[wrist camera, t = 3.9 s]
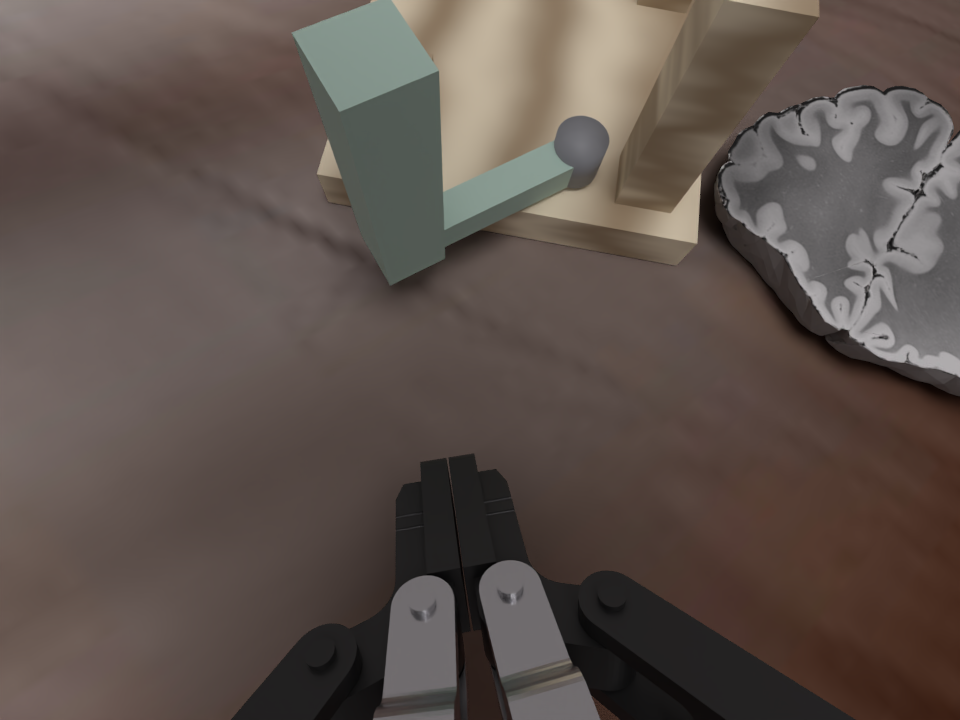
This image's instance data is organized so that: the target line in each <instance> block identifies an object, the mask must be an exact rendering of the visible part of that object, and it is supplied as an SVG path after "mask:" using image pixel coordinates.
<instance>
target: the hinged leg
mask: <svg viewBox="0 0 960 720" xmlns="http://www.w3.org/2000/svg"><path fill="white" fill-rule="evenodd" d="M292 35H293V38H294V41H295V44H296V47H297V50H298V53H299V55H300V58H301V61H302V64H303V67H304V70H305V73H306V76H307V79H308V81H309V84H310V87H311V90H312V93H313V96H314V99H315V102H316V105H317V108H318V110H319V113H320V116H321V119H322V122H323V125H324V128H325V131H326V134H327V137H328V139H329V142H330V145H331V148H332V151H333V154H334V157H335V160H336V163H337V166H338V168H339V171H340V174H341V177H342V180H343V183H344V186H345V189H346V192H347V195H348V197H349V200H350V203H351V206H352V209H353V212H354V215H355V218H356V221H357V224H358V226H359V229H360V232H361V235H362V237H363V239H364V241H365V243H366V244H367V246H368V248H369V250H370V251H371V253H372V255H373V257H374V258H375V260H376V262H377V264H378V265H379V267H380V269H381V271H382V272H383V274H384V276H385V277H386V279H387V281H388V283H389V284H390V286H391V285H393V284H395V283H397V282H399V281H401V280H403V279H405V278H407V277H409V276H411V275H413V274H415V273H417V272H419V271H421V270H423V269H425V268H427V267H429V266H431V265H433V264H435V263H437V262H439V261H441V260H443V259H445V247H446V246H448V245H450V244H452V243H454V242H456V241H458V240H460V239H462V238H464V237H467V236H469V235H471V234H473V233H475V232H477V231H479V230H481V229H483V228H485V227H487V226H489V225H491V224H493V223H495V222H497V221H499V220H501V219H503V218H505V217H507V216H509V215H511V214H514V213H516V212H518V211H520V210H522V209H524V208H526V207H528V206H530V205H532V204H534V203H536V202H538V201H540V200H542V199H544V198H546V197H548V196H550V195H552V194H554V193H556V192H558V191H561V190H563V189H565V188H582V187H585V186H587V185H588V184H590V183H591V182H592V181H593V180H594V178H595V176H596V174H597V172H598V169H599V167H600V165H601V162H602V160H603V158H604V156H605V153H606V151H607V149H608V146H609V134H608V132H607V130H606V128H605V127H604V126H603V125H602V124H601V123H600V122H599V121H597V120H596V119H594V118H591V117H588V116H573V117H570V118H568V119H566V120H565V121H563V122H562V123H561V124H560V126H559V128H558V130H557V133H556V137H555V140H554V141H552V142H549V143H547V144H545V145H543V146H541V147H539V148H537V149H534V150H532V151H530V152H528V153H526V154H524V155H522V156H519V157H517V158H515V159H513V160H511V161H509V162H507V163H504V164H502V165H500V166H498V167H496V168H494V169H492V170H489V171H487V172H485V173H483V174H481V175H479V176H477V177H474V178H472V179H470V180H468V181H466V182H464V183H461V184H459V185H457V186H455V187H453V188H451V189H449V190H446V191H444V192H443V175H442V144H441V113H440V83H439V70H438V68H437V67H436V65H435V64H434V62H433V61H432V59H431V58H430V56H429V55H428V53H427V52H426V51H425V49H424V48H423V46H422V45H421V43H420V42H419V40H418V39H417V37H416V36H415V34H414V33H413V31H412V30H411V28H410V27H409V25H408V24H407V22H406V21H405V19H404V18H403V16H402V15H401V14H400V12H399V11H398V9H397V8H396V6H395V5H394V3H393V2H392V0H377V1H375V2H372V3H369V4H367V5H364V6H361V7H359V8H356V9H353V10H351V11H348V12H345V13H343V14H340V15H337V16H335V17H332V18H329V19H327V20H324V21H321V22H319V23H316V24H313V25H311V26H308V27H305V28H303V29H300V30H297V31H295V32H292Z"/></svg>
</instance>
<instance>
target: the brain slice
mask: <svg viewBox="0 0 960 720" xmlns="http://www.w3.org/2000/svg"><path fill="white" fill-rule="evenodd" d="M953 130H954V126H953V123H952V119H951V117H950V115H949V113H948V111H947V110H946V109H945V108H944V107H942V105H941V104H939V103H936V102H934V101H932V100H931V99H929V98H927V97H926V96H925V95H924V94H923V93H922V92H920V91H918V90H916V89H914V88H909V87H905V86H894V87H891V88H888V89H886V90H885V91H884V92H882V91H881V90H879V89H877V88H876V87H874V86H866V85H862V86H855V87H850V88H846V89H843V90H841V91H840V92H839V93H838V94H837V95H836V96H835V97H834V98H829V97H815V98H812V99H810V100H807V101H805V102H803V103H801V104H798V105H795V106H790V107H788V108H786V109H785V110H783V111H781V112H779V113H772V112H768V113H766V114H765V115H763V116H761V117H760V118H759V119H758V120H757V121H756V122H755V124H754V125H753V126H751V127H748V128H746V129H744V130H742V131H741V132H740V133H739V134H738V136H737V138H736V140H735V142H734V143H733V145H732V146H731V148H730V150H729V151H728V161H727V163H725V164H724V165H723V166H722V167H721V169H720V171H719V173H718V174H717V179H716V182H715V183H714V197H715V211H716V215H717V217H718V219H719V220H720V222H722V224H723V229H724V231H725V233H726V236H727V238H728V240H729V242H730V243H731V245H732V246H733V247H734V248H735V249H736V250H738V252H739V253H740V254H741V255H742V256H743V257H744V258H745V259H746V260H748V261H749V262H750V263H752V265H753V267H754V268H755V269H756V271H757V272H758V273H759V274H760V276H761V277H762V278H763V280H764V281H765V282H766V283H767V285H769V286H770V287H771V288H772V289H773V290H774V291H775V293H776V294H777V296H778V298H779V299H780V300H781V301H782V302H783V303H784V304H785V306H786V307H787V308H788V309H789V310H790V311H791V312H792V313H793V314H794V316H795V317H796V318H797V320H798V321H799V322H800V323H801V324H802V325H803V326H804V327H806V328H807V329H808V330H810V331H811V332H813V333H815V334H817V335H819V336H823V335H825V339H826V341H827V342H828V343H829V344H830V345H831V346H832V347H834V348H835V349H836V350H837V351H838V352H840V353H842V354H844V355H846V356H848V357H850V358H854V359H859V360H864V361H869V362H872V363H875V364H878V365H881V366H886V367H888V368H890V369H892V370H893V371H895V372H897V373H899V374H901V375H903V376H906V377H908V378H910V379H913V380H916V381H920V382H925V383H929V384H932V385H933V386H935V387H937V388H939V389H941V390H943V391H945V392H948V393H950V394H953V395H956V396H960V131H959V132H958V133H957V134H956V135H955V137H954V138H953V139H952V140H951V142H950V143H949V144H948V145H947V143H948V141H949V139H950V138H951V136H952V134H953Z"/></svg>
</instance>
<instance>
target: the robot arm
mask: <svg viewBox="0 0 960 720" xmlns="http://www.w3.org/2000/svg"><path fill="white" fill-rule="evenodd" d="M449 466H450V473H451V480H452V488H453V495H454V503H455V510H456V517H455V510H454V503H453V497H452V490H451V484H450V478H449V472H448V466H447V460H446V458H443V459H437V460H430V461H424V462H420V467H421V482H415V483H409V484H404V485H403V487H402V489H401V491H400V493H399V495H398V497H397V499H396V582H395V589H394V592H393V594H392V597H391V598H390V600H389V602H388V603H387V604H386V606H385V607H384V608H383V609H382V610H381V611H380V612H379V613H377V614H376V615H375V616H373V617H372V618H370V619H368V620H366V621H364V622H362V623H360V624H358V625H357V626H355V627H353V628H351V629H348V628H347V627H345V626H343V625H340V624H325V625H322V626H319V627H316V628H314V629H312V630H311V631H309V632H308V633H307V634H305V635H304V636H303V637H302V638H301V639H300V640H299V641H298V642H297V643H296V645H295V646H294V647H293V648H292V649H291V650H290V652H289V653H288V654H287V655H286V656H285V657H284V659H283V660H282V661H281V662H280V663H279V664H278V666H277V667H276V668H275V669H274V670H273V671H272V673H271V674H270V675H269V676H268V677H267V678H266V680H265V681H264V682H263V683H262V684H261V685H260V687H259V688H258V689H257V690H256V691H255V692H254V694H253V695H252V696H251V697H250V698H249V699H248V701H247V702H246V703H245V704H244V705H243V706H242V708H241V709H240V710H239V711H238V712H237V713H236V715H235V716H234V717H233V718H232V719H231V720H469V701H468V678H467V665H466V659H465V654H464V645H463V637H462V633H464V632H469V631H471V630H470V623H469V615H468V608H467V600H466V593H465V585H464V577H463V570H462V562H463V569H464V575H465V582H466V588H467V594H468V600H469V607H470V613H471V619H472V625H473V631H475V630H480V629H481V630H482V637H483V643H484V650H485V654H486V657H487V659H488V661H489V664H490V669H491V673H492V677H493V681H494V686H495V690H496V694H497V699H498V703H499V707H500V712H501V716H502V720H600V718H599V715H598V712H597V710H596V707H595V705H594V702H593V699H592V697H591V695H592V696H593V697H594V698H595V699H596V700H598V701H599V702H600V703H601V704H602V705H604V706H605V707H606V708H607V709H608V710H610V711H611V712H612V713H613V714H614V715H616V716H617V717H618V718H619V719H620V720H855V719H854V718H852V717H850V716H849V715H847V714H846V713H844V712H842V711H841V710H839V709H838V708H836V707H834V706H833V705H831V704H830V703H828V702H826V701H825V700H823V699H822V698H820V697H818V696H817V695H815V694H814V693H812V692H811V691H809V690H807V689H806V688H804V687H803V686H801V685H799V684H798V683H796V682H795V681H793V680H791V679H790V678H788V677H787V676H785V675H783V674H782V673H780V672H779V671H777V670H775V669H774V668H772V667H771V666H769V665H767V664H766V663H764V662H763V661H761V660H759V659H758V658H756V657H755V656H753V655H752V654H750V653H748V652H747V651H745V650H744V649H742V648H740V647H739V646H737V645H736V644H734V643H732V642H731V641H729V640H728V639H726V638H724V637H723V636H721V635H720V634H718V633H716V632H715V631H713V630H712V629H710V628H708V627H707V626H705V625H704V624H702V623H700V622H699V621H697V620H696V619H694V618H693V617H691V616H689V615H688V614H686V613H685V612H683V611H681V610H680V609H678V608H677V607H675V606H673V605H672V604H670V603H669V602H667V601H665V600H664V599H662V598H661V597H659V596H657V595H656V594H654V593H653V592H651V591H649V590H648V589H646V588H645V587H643V586H641V585H640V584H638V583H637V582H635V581H634V580H632V579H630V578H629V577H627V576H625V575H623V574H621V573H618V572H614V571H600V572H596V573H593V574H591V575H590V576H588V577H587V578H586V579H585V580H584V581H583V582H582V584H581V586H580V585H573V584H565V583H558V582H554V581H551V580H548V579H546V578H544V577H543V576H541V575H540V574H539V573H538V572H536V571H535V570H534V568H533V567H532V566H531V564H530V562H529V560H528V557H527V554H526V550H525V546H524V543H523V539H522V535H521V532H520V528H519V524H518V521H517V517H516V513H515V510H514V506H513V502H512V499H511V495H510V491H509V487H508V484H507V481H506V480H505V479H504V478H503V476H502V475H501V474H500V473H499V472H498V471H497V470H496V469H493V470H487V471H481V472H478V470H477V465H476V460H475V456H474V454H468V455H462V456H455V457H449ZM456 518H457V524H456ZM457 525H458V532H459V540H460V547H461V555H462V562H461V555H460V547H459V540H458V532H457Z"/></svg>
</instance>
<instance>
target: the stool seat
mask: <svg viewBox="0 0 960 720" xmlns="http://www.w3.org/2000/svg"><path fill="white" fill-rule="evenodd" d="M375 1H377V0H371V2H370V3H372V2H375ZM392 2H393V3H394V5H395V6H396V8H397V9H398V11H399V12H400V14H401V15H402V16H403V18H404V19H405V21H406V22H407V24H408V25H409V27H410V28H411V30H412V31H413V33H414V34H415V36H416V37H417V39H418V40H419V42H420V43H421V45H422V46H423V48H424V49H425V51H426V52H427V53H428V55H429V56H430V58H431V59H432V61H433V62H434V64H435V65H436V67H437V68H438V70H439V83H440V113H441V144H442V175H443V192H444V191H446V190H449V189H451V188H453V187H455V186H457V185H459V184H461V183H464V182H466V181H468V180H470V179H472V178H474V177H477V176H479V175H481V174H483V173H485V172H487V171H489V170H492V169H494V168H496V167H498V166H500V165H502V164H504V163H507V162H509V161H511V160H513V159H515V158H517V157H519V156H522V155H524V154H526V153H528V152H530V151H532V150H534V149H537V148H539V147H541V146H543V145H545V144H547V143H549V142H552V141H554V140H555V137H556V133H557V130H558V128H559V126H560V124H561V123H562V122H563V121H565V120H566V119H568V118H570V117H573V116H588V117H591V118H594V119H596V120H597V121H599V122H600V123H601V124H602V125H603V126H604V127H605V128H606V130H607V132H608V134H609V146H608V149H607V151H606V153H605V156H604V158H603V160H602V162H601V165H600V167H599V169H598V172H597V174H596V176H595V178H594V180H593V181H592V182H591V183H590V184H588V185H587V186H585V187H582V188H565V189H563V190H561V191H558V192H556V193H554V194H552V195H550V196H548V197H546V198H544V199H542V200H540V201H538V202H536V203H534V204H532V205H530V206H528V207H526V208H524V209H522V210H520V211H518V212H516V213H514V214H511V215H509V216H507V217H505V218H503V219H501V220H499V221H497V222H495V223H493V224H491V225H489V226H487V227H485V228H483V229H481V230H483V231H489V232H494V233H500V234H505V235H511V236H516V237H522V238H527V239H533V240H538V241H544V242H549V243H555V244H560V245H565V246H571V247H576V248H582V249H587V250H593V251H598V252H604V253H609V254H615V255H620V256H626V257H631V258H637V259H642V260H648V261H653V262H658V263H664V264H669V265H675V266H677V265H678V264H679V262H680V261H681V260H682V259H683V258H684V257H685V256H686V255H687V254H688V253H689V252H690V251H691V250H692V249H693V248H694V247H695V246H696V245H697V240H698V222H699V204H700V186H701V173H702V171H703V170H704V169H705V167H706V166H707V165H708V164H709V162H710V161H711V160H712V158H713V157H714V156H715V154H716V153H717V152H718V150H719V149H720V148H721V146H722V145H723V144H724V142H725V141H726V140H727V138H728V137H729V136H730V134H731V133H732V132H733V130H734V129H735V128H736V127H737V125H738V124H739V123H740V121H741V120H742V119H743V117H744V116H745V115H746V113H747V112H748V111H749V109H750V108H751V107H752V105H753V104H754V103H755V101H756V100H757V99H758V97H759V96H760V95H761V94H762V92H763V91H764V90H765V88H766V87H767V86H768V84H769V83H770V82H771V80H772V79H773V78H774V76H775V75H776V74H777V72H778V71H779V70H780V68H781V67H782V66H783V64H784V63H785V62H786V60H787V59H788V58H789V57H790V55H791V54H792V53H793V51H794V50H795V49H796V47H797V46H798V45H799V43H800V42H801V41H802V39H803V38H804V37H805V35H806V34H807V33H808V31H809V30H810V29H811V27H812V26H813V25H814V24H815V22H816V21H817V20H818V18H819V0H392ZM317 176H318V178H319V181H320V183H321V186H322V188H323V190H324V193H325V195H326V197H327V200H328V202H330V203H336V204H341V205H347V206H351V203H350V200H349V197H348V195H347V192H346V189H345V186H344V183H343V180H342V177H341V174H340V171H339V168H338V166H337V163H336V160H335V157H334V154H333V151H332V148H331V145H330V142H329V139H328V140H327V143H326V146H325V149H324V153H323V156H322V159H321V162H320V165H319V169H318V172H317Z"/></svg>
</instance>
